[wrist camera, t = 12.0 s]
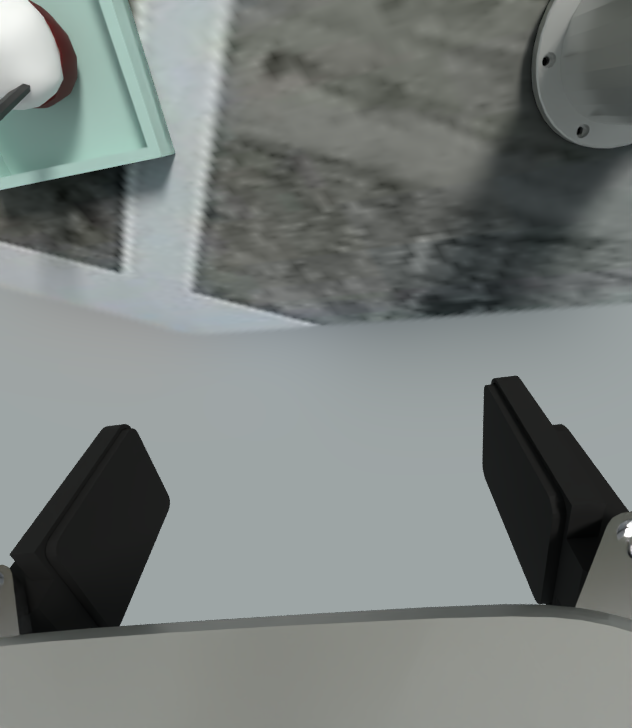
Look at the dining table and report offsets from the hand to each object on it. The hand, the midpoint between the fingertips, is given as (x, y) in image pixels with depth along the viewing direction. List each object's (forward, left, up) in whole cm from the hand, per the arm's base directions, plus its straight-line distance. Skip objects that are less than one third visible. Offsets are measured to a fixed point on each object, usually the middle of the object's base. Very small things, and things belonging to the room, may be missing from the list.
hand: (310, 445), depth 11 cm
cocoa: (+18, -14, -28) cm, 36 cm away
